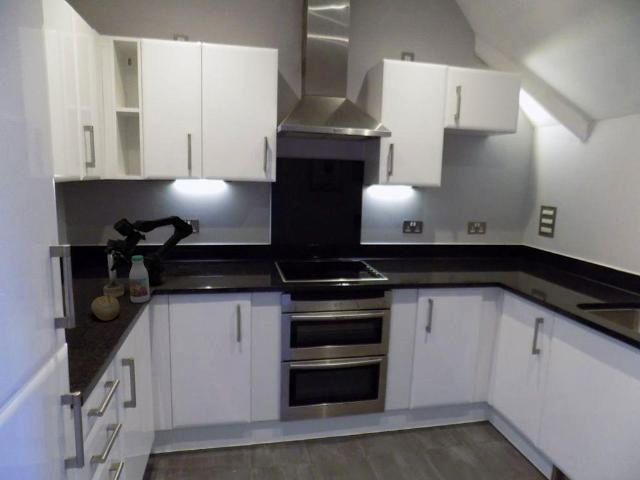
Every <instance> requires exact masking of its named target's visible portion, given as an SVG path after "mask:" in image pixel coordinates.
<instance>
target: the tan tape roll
mask: <svg viewBox="0 0 640 480" xmlns="http://www.w3.org/2000/svg"><path fill="white" fill-rule="evenodd" d="M102 288H103V289H102V290H103V296H108V295H112V296H114V297H115V298H118V296H119V297H121V295H122V296H124V295H125V286H124V284H123V283H117V285H110V284H106V285H103V287H102ZM123 294H124V295H123Z"/></svg>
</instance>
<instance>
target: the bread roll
mask: <svg viewBox="0 0 640 480" xmlns="http://www.w3.org/2000/svg"><path fill="white" fill-rule="evenodd" d="M90 309H91V312H93V314H94V315H95V316H96V317H97V318H98V319H99V320H101V321H104V322H105V321H106V322H107V321H109V322H110V321H113V320H114V319H115V318H116V317H117V315H118V314H119V312H120V302H119V301H118V299H117V297H114V296H112V295H108V296H104V295H101V296H98V297H96V298H95V299H93V301H92V303H91V305H90Z"/></svg>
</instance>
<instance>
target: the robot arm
mask: <svg viewBox="0 0 640 480" xmlns="http://www.w3.org/2000/svg"><path fill="white" fill-rule="evenodd" d="M171 225H172V227H173V228H174V232H173V234H172V235H171V236H170V237H169V238H168V239H167V240H166V241H165V242H164V243H163V244H162V245H161V246H160V247H159V248H158V249H157V250H156V251H155V252H148V253H147V254H146V256H143V264H144V266H145V268H146V270H147V272H148V279H149V286H153V287H155V286H159V285H163V284H164V283H166V282H165V281H163V273H165V269H166V267H164V266H163V265H162V264H163V260H164V258H165V257H167V255H168V254H169V253H170V252H171V251H172V250H173V249H174V248H175V247H176V246H177V245H178V243H180V242H181V240H184V239H186V238H188V237H190V236H191V235H193V233H194V227H193V225H192V224H190V223H188V222H186V221H185V220H184V219H182V218H181V217H179V216H177V215H171V216H167V217H160V218H156V219H137V220H135V222H132V223H131V222H130V221H129V220H128V219H127V218H126V217H123V218H122V217H121V219H120V220H118V221H116V222H115V223H114V224H113V226H112V227H113V228H112V229H113V230H114V231H116V232H117V233H118V234H119V235H120V236H121V237H124V239H119V238H117V239H111V238H108V240H107V243H106V248H105V249H104V251H103V252H105V253H106V254H107V255H108V254H114V256H115V263H114V264H113V266H112V267H111V269H110V270H111V271H114V270H116V271H117V269H119V268H121V267H122V266H125V265H127V264H129V263H132V264H133V262H132V257H133V256H136V255H135V254H134V253H133V251H136V250H137V245H138V244H139V243H140V241H141V240H142V241H146V239H147V238H146V233H150V232H153V231H154V230H155V229H158V228H162V227H166V226H167V227H168V226H171ZM143 233H145V234H143ZM106 270H107V271H109V267H108V265H107V267H106Z"/></svg>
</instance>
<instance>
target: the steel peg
mask: <svg viewBox="0 0 640 480" xmlns="http://www.w3.org/2000/svg"><path fill="white" fill-rule="evenodd" d="M106 256H107V266H108V267H109V270H108V275H109V285H117V284H118V281H117V269H116V270H114V271H111V270H110V269H111V267H112V266H113V264H114V263H115V256H114V254H108V253H107V255H106Z"/></svg>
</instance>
